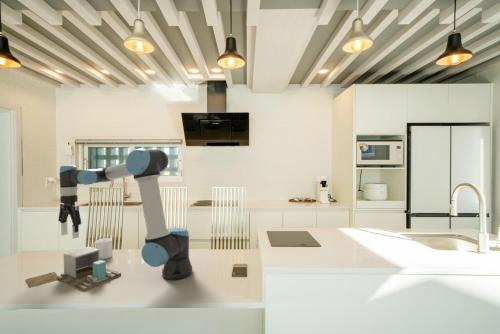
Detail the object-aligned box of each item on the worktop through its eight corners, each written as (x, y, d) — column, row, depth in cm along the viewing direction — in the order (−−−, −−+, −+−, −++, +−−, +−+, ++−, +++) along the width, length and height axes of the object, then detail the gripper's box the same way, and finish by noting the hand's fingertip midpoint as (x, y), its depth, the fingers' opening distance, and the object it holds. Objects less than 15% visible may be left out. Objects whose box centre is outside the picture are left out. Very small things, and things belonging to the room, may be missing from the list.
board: (121, 275, 135) (121, 268, 135) (84, 291, 119) (84, 283, 119) (93, 265, 147) (93, 259, 147) (57, 278, 131) (56, 271, 131)
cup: (107, 259, 155) (106, 242, 155) (87, 259, 156) (87, 241, 156) (115, 254, 164) (115, 238, 163) (96, 253, 165) (96, 237, 164)
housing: (99, 268, 139) (99, 249, 139) (74, 278, 129) (74, 257, 128) (88, 265, 144) (88, 246, 144) (64, 273, 133) (63, 253, 133)
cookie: (29, 289, 122) (29, 287, 122) (25, 280, 130) (25, 278, 130) (60, 280, 130) (60, 278, 130) (54, 272, 139) (54, 271, 139)
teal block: (106, 277, 130) (105, 261, 129) (97, 281, 126) (97, 264, 126) (101, 275, 132) (100, 259, 131) (93, 279, 128) (92, 262, 128)
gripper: (88, 195, 138) (89, 237, 139) (65, 192, 149) (66, 231, 150) (73, 197, 131) (74, 241, 132) (49, 194, 142) (51, 234, 143)
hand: (70, 236), depth 141 cm, fingers open, 10 cm apart
